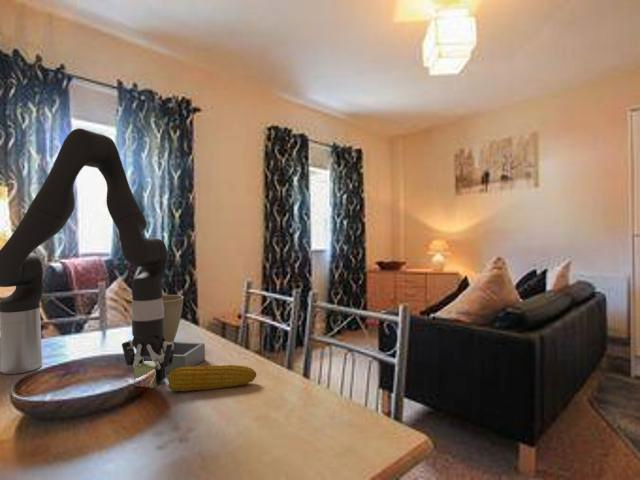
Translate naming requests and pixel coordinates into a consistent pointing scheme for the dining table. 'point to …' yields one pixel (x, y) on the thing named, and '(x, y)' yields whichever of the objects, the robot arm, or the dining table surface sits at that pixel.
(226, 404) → the dining table surface
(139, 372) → the green block
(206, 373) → the food
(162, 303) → the robot arm
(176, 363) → the bin
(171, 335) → the plant pot
